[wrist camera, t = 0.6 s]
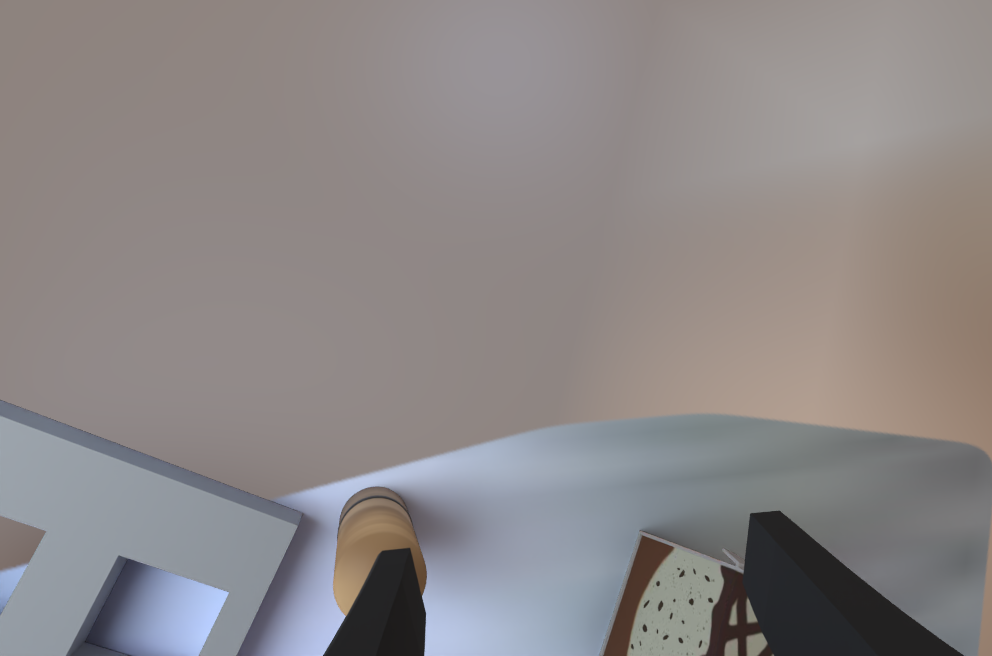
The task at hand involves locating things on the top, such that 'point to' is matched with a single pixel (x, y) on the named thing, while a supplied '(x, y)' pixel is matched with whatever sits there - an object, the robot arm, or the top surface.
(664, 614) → the food container
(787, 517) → the robot arm
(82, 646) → the board
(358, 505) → the peg
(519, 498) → the top surface
